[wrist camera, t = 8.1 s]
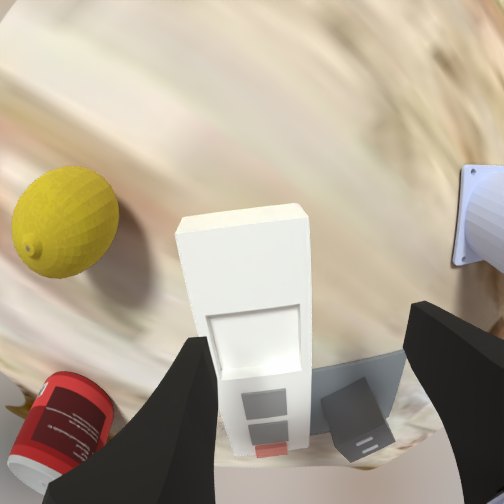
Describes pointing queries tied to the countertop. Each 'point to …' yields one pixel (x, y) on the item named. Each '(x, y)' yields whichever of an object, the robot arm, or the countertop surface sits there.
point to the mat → (339, 376)
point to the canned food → (61, 429)
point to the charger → (356, 421)
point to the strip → (254, 320)
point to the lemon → (65, 221)
